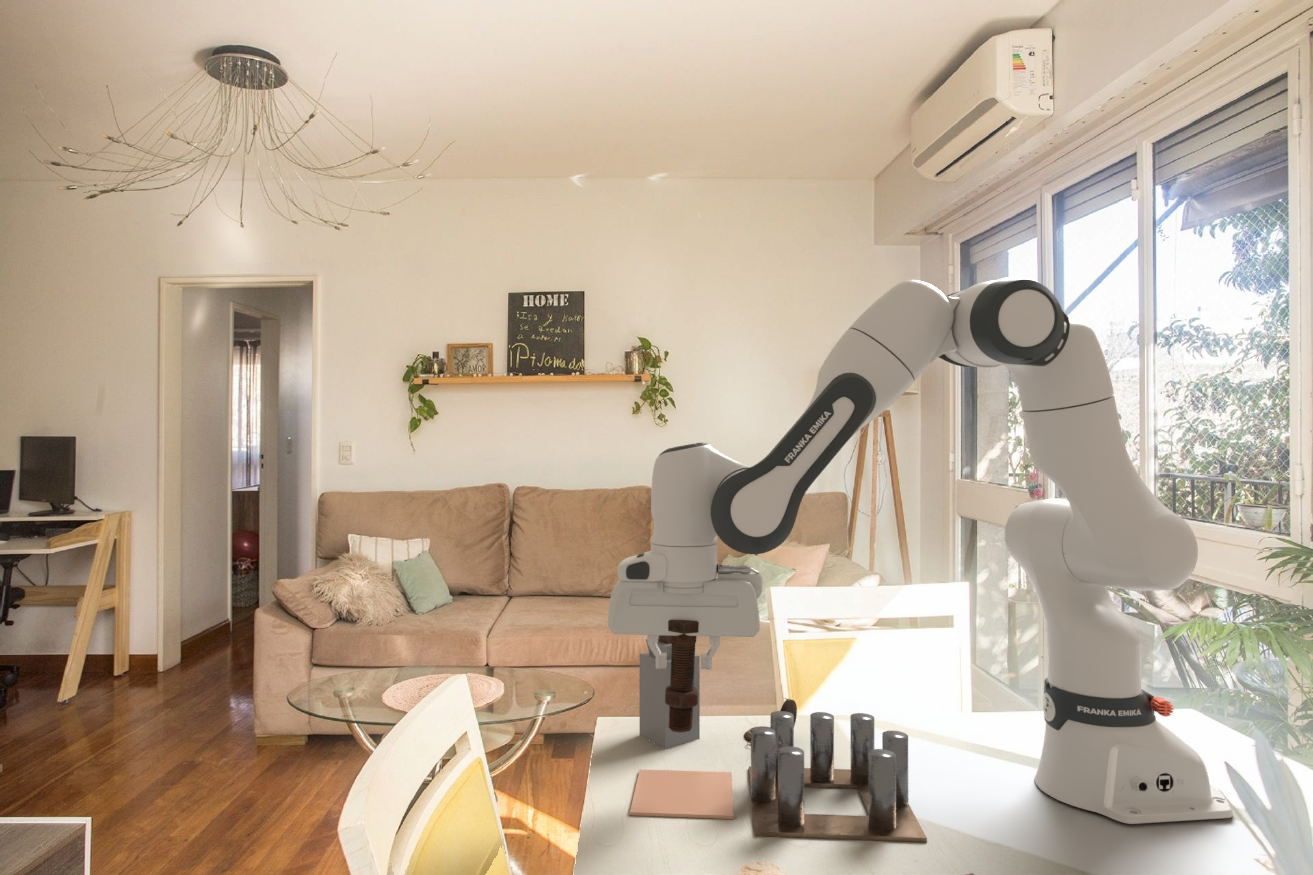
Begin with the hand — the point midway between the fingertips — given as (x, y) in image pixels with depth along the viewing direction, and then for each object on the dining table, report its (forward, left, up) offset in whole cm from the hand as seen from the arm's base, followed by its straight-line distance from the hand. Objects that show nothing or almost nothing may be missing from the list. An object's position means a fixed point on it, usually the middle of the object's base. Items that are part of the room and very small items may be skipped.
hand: (683, 668), depth 105 cm
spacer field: (-19, +1, -17) cm, 25 cm away
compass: (-12, -19, -17) cm, 28 cm away
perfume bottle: (+3, -19, -17) cm, 26 cm away
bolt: (0, 0, -8) cm, 8 cm away
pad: (0, 0, -17) cm, 17 cm away
